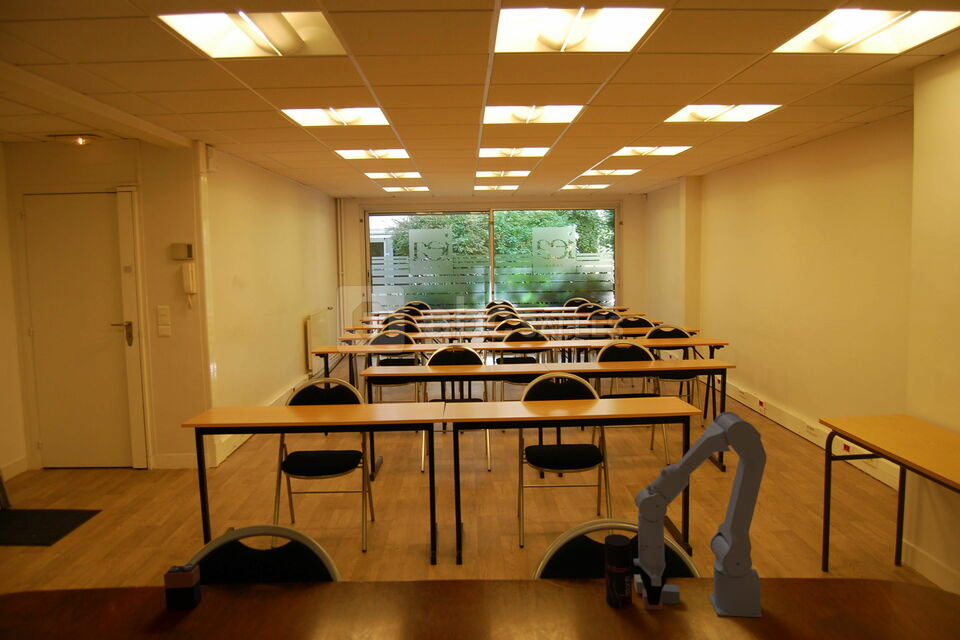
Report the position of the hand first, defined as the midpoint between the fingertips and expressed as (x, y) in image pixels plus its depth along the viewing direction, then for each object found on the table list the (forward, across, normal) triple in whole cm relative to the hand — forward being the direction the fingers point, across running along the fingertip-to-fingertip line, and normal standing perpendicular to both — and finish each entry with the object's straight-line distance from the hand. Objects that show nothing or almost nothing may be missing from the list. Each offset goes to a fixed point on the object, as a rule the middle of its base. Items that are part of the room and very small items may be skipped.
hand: (652, 599), depth 131 cm
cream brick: (+2, -7, 0) cm, 7 cm away
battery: (+2, +9, -112) cm, 113 cm away
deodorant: (+2, -1, -7) cm, 8 cm away
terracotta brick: (+1, 0, 0) cm, 1 cm away
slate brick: (+2, -3, +4) cm, 5 cm away
